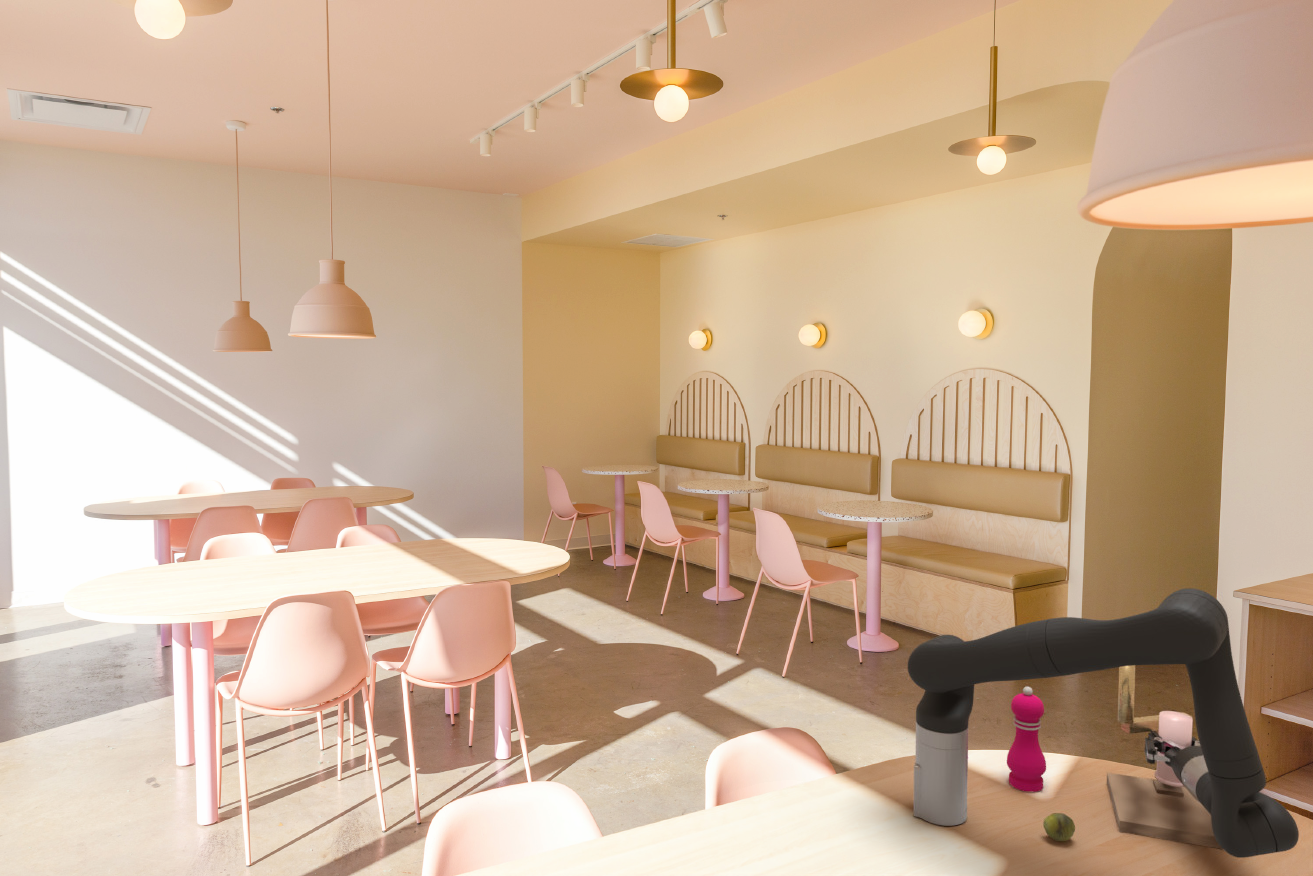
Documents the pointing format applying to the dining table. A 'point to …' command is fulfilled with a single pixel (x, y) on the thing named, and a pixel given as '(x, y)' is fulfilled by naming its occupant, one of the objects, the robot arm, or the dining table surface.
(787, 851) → the dining table surface
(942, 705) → the robot arm
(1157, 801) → the base
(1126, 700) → the brass crank handle
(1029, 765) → the pepper mill
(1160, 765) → the cover
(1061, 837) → the lime
